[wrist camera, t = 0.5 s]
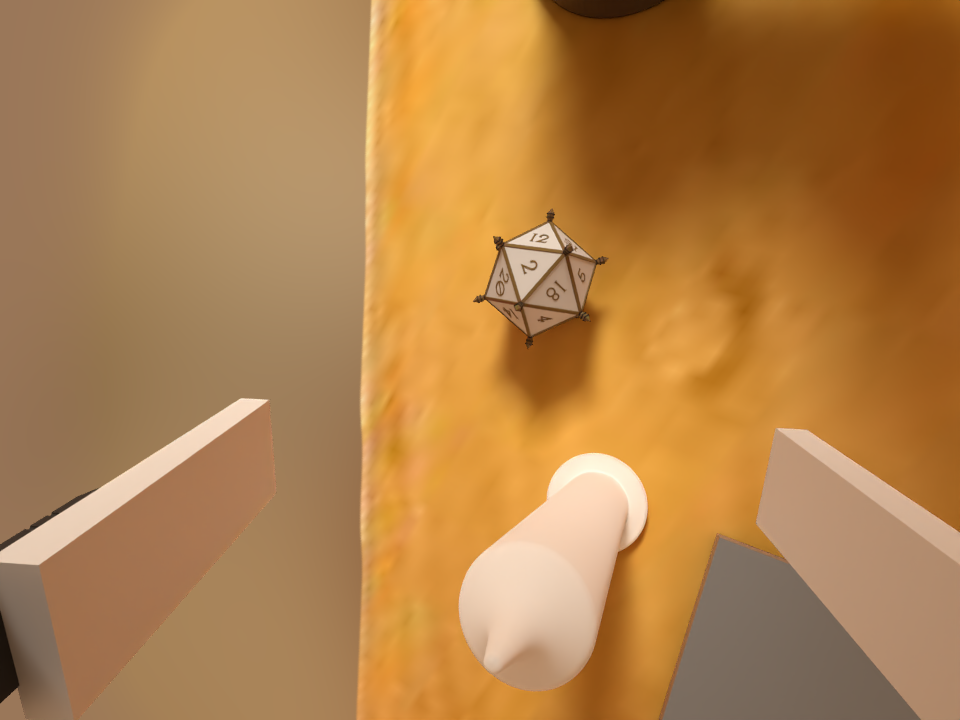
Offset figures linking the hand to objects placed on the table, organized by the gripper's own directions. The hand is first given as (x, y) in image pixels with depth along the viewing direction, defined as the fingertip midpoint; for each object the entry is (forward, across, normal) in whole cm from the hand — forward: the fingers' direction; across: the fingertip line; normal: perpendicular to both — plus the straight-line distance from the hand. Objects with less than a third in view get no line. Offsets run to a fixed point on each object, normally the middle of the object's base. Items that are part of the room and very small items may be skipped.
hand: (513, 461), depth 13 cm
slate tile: (+14, +19, -21) cm, 32 cm away
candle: (+21, +7, -13) cm, 26 cm away
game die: (+27, +3, +1) cm, 28 cm away
